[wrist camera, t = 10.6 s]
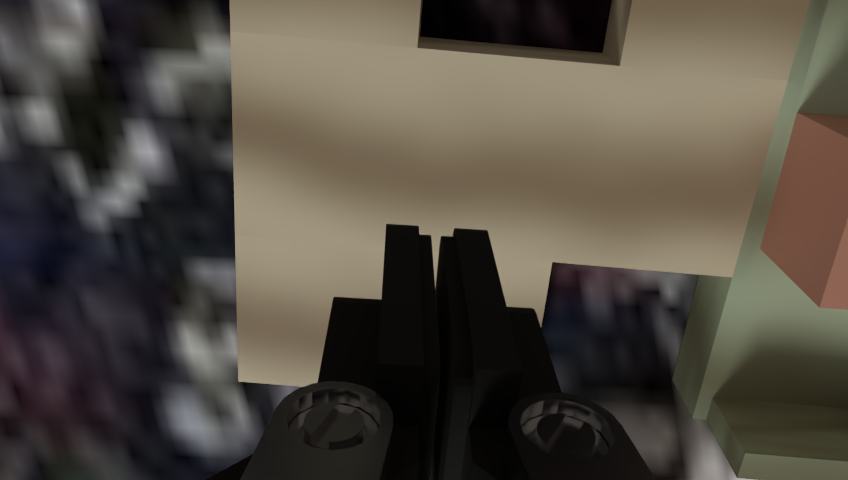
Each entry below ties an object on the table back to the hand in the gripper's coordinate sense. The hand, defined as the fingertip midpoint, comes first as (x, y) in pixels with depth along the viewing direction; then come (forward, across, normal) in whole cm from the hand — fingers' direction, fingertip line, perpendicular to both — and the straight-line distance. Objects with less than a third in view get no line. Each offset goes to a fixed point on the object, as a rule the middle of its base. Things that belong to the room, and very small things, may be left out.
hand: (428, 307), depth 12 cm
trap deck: (+13, -6, +1) cm, 15 cm away
